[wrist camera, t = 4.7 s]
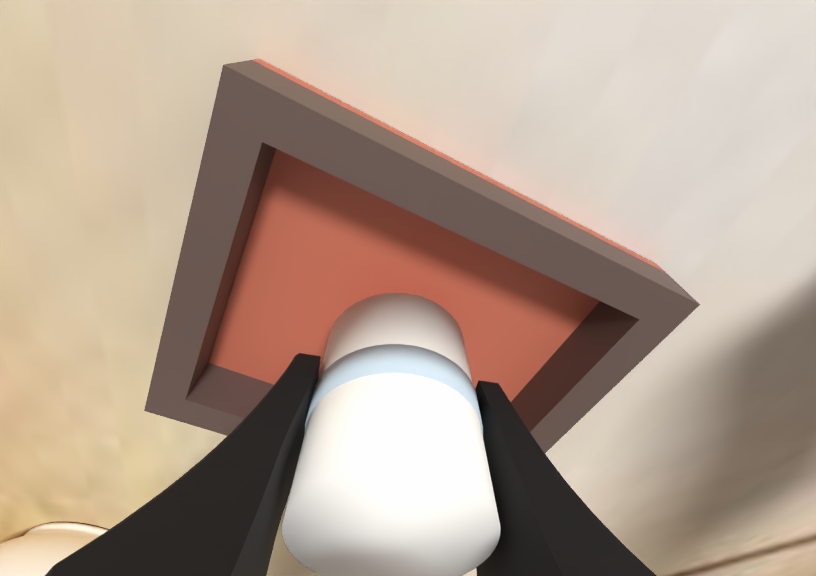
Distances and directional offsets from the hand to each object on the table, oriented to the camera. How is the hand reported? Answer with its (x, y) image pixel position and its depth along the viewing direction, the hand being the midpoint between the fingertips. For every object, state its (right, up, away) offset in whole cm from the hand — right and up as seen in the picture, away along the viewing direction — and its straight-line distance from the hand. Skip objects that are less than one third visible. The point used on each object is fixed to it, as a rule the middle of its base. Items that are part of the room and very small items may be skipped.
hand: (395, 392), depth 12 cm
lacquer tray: (0, +2, +3) cm, 4 cm away
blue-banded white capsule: (0, +1, +1) cm, 2 cm away
